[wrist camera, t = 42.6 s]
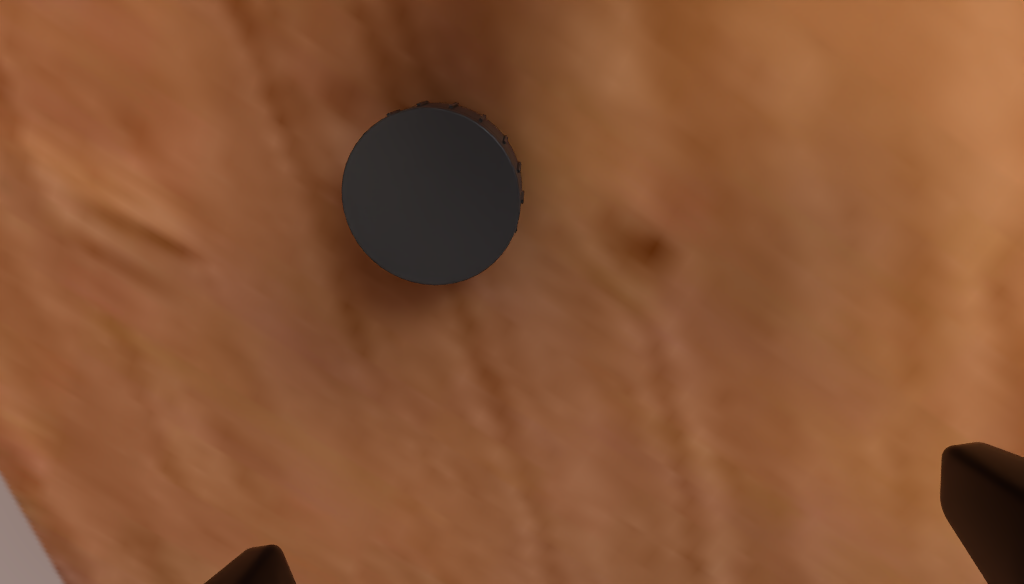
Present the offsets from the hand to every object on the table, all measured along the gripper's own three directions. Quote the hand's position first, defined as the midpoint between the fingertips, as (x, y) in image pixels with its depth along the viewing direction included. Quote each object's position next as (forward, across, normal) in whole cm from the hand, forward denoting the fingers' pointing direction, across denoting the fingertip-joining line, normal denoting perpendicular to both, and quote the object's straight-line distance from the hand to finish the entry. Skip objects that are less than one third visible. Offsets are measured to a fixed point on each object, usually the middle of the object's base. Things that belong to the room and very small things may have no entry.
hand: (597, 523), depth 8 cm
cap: (+8, +3, -4) cm, 9 cm away
